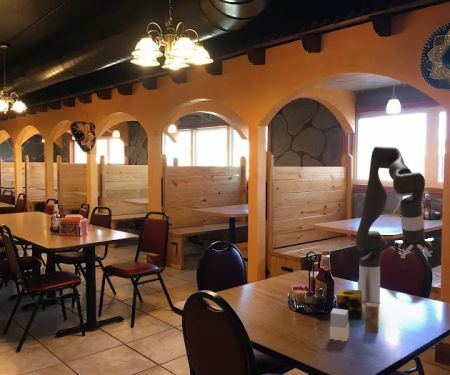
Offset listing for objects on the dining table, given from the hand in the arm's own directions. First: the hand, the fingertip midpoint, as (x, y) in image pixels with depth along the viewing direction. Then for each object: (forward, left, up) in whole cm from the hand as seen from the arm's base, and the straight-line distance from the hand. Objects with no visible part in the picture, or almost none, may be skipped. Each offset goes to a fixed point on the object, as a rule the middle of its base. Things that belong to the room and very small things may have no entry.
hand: (416, 265), depth 163 cm
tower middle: (-10, -28, -21) cm, 37 cm away
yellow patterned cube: (-27, -8, -27) cm, 39 cm away
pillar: (-10, -12, -26) cm, 31 cm away
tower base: (-10, -28, -26) cm, 40 cm away
